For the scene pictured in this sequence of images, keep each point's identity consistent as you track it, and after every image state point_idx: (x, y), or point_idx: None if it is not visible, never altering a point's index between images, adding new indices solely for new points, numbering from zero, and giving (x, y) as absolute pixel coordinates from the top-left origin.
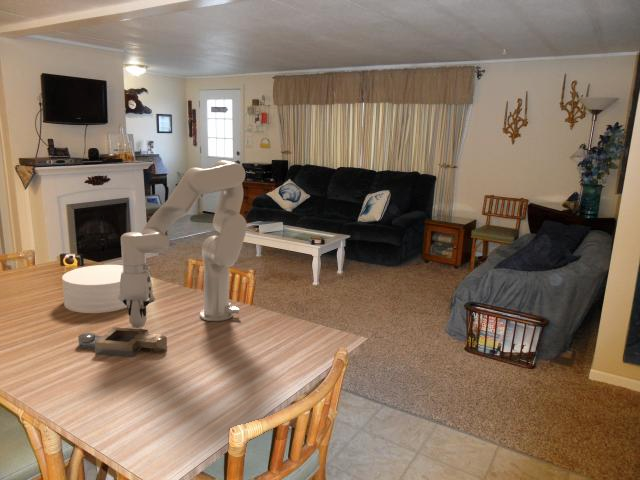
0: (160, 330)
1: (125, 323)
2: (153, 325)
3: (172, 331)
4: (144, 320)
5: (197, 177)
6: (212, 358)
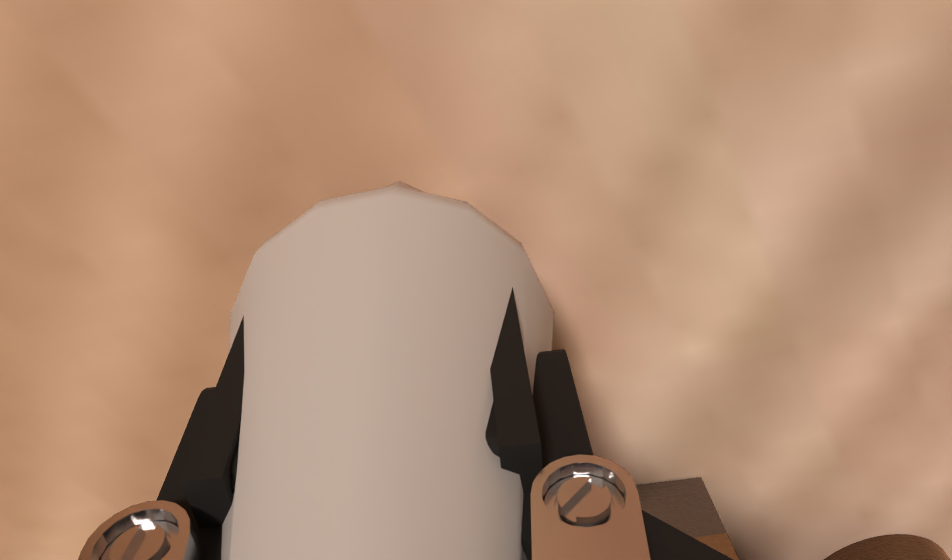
0: (746, 187)
1: (28, 98)
2: (557, 35)
3: (938, 168)
4: None
5: None
6: None
